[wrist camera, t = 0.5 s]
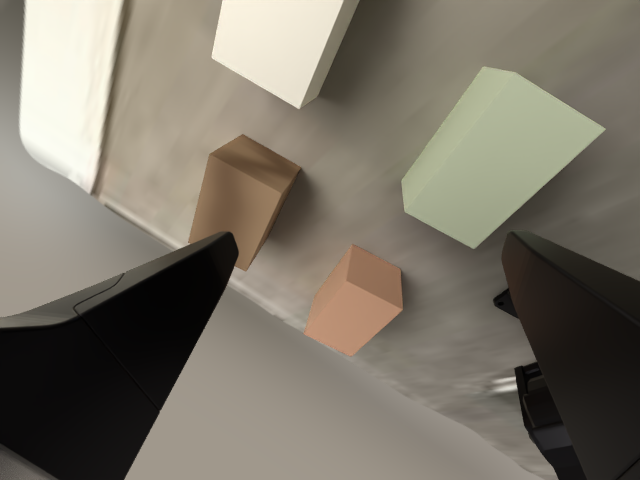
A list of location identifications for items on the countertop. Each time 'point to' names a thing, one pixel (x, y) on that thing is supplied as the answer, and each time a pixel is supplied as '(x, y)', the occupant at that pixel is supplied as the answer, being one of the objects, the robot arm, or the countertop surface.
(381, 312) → the terracotta brick
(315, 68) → the off-white brick
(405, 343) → the countertop surface
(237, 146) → the walnut brick
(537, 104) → the sage brick
